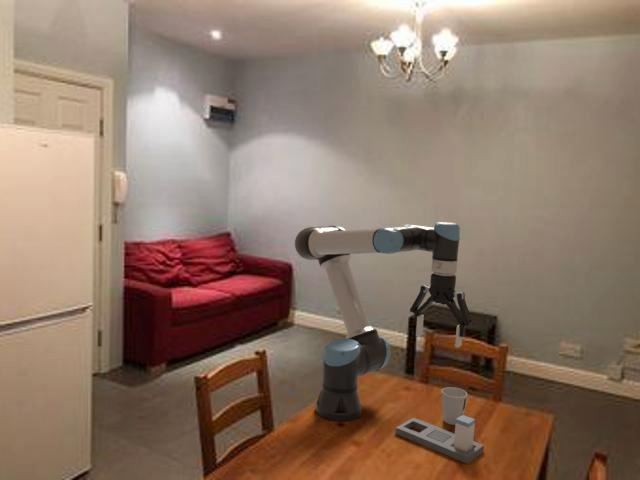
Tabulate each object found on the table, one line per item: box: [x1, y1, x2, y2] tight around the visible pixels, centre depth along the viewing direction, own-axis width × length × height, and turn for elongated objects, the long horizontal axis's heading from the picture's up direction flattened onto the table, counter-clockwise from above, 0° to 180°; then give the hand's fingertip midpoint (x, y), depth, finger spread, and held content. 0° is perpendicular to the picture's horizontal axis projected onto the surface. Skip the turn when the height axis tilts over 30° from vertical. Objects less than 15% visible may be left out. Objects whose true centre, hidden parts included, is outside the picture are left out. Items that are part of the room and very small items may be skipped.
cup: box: [441, 387, 468, 426], centre depth 179 cm, size 8×8×10 cm
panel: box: [395, 417, 485, 465], centre depth 165 cm, size 24×10×2 cm, turn 49°
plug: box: [454, 414, 476, 453], centre depth 159 cm, size 4×4×10 cm
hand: (438, 341), depth 169 cm, fingers open, 13 cm apart
